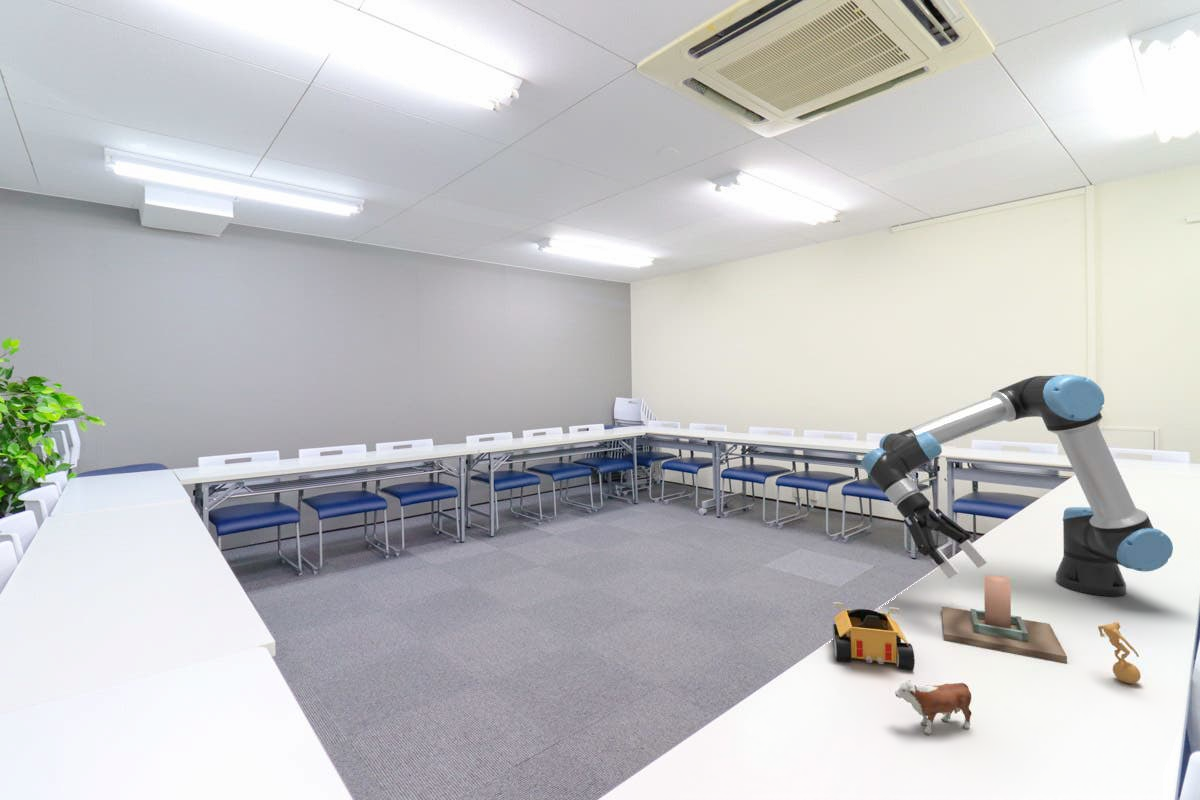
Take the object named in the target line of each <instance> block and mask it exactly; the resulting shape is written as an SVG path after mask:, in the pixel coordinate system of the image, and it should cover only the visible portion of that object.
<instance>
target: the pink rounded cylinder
mask: <svg viewBox="0 0 1200 800" xmlns="http://www.w3.org/2000/svg"><path fill="white" fill-rule="evenodd" d="M983 578H984V579H983V581H984V584H983V586H984V588H983V589H984V590H983V591H984V593H983V594H984V611H985V625H991V626H997V627H1003V628H1009V629H1011V615H1012V611H1011V610H1012V609H1011V607H1012V605H1011V602H1012V600H1011V599H1012V596H1011V595H1012V594H1011V587H1012V586H1011V579H1009V578H1008V577H1006V576H1002V575H997V574H985V575H984V577H983Z"/></svg>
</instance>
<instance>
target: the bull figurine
mask: <svg viewBox="0 0 1200 800" xmlns="http://www.w3.org/2000/svg"><path fill="white" fill-rule="evenodd" d="M894 691H895V692H894V695H895V696H896V698H897V699H904V700H905V702H907V703H909V704H911V706H912V709H914V711H915V712H917V713H918V714H919V715H921V716H922V720H921V722H920V725H921V726H925V729H924V730H923V733H924V735H926V736H930V735H931V733H932V725H933V723H934V720H935V717H936V715H937V714H942V715H943V716H942V717H941V718H940V720H941V721H942V722H945V723H947V722H948V721H949V720H951V719H952V717H951V716H952V713H953V712H954V714H958V712H962V714H963V715H964V723H963V724H962V726H961V727H962V728H963V729H965V730H969V729H970V726H971V716H972V711H971V709H970V705H971V702H972V693H971V691H970V688H969V686H968V685H967V684H966V683H964V682H956V683H944V684H942V685H941V684H940V685H925V684H916V685H915V684H913V683H912V682H911V680H906V681H904V682H903V683H901V684H900V686H899V688H898V689H897V690H894Z"/></svg>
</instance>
